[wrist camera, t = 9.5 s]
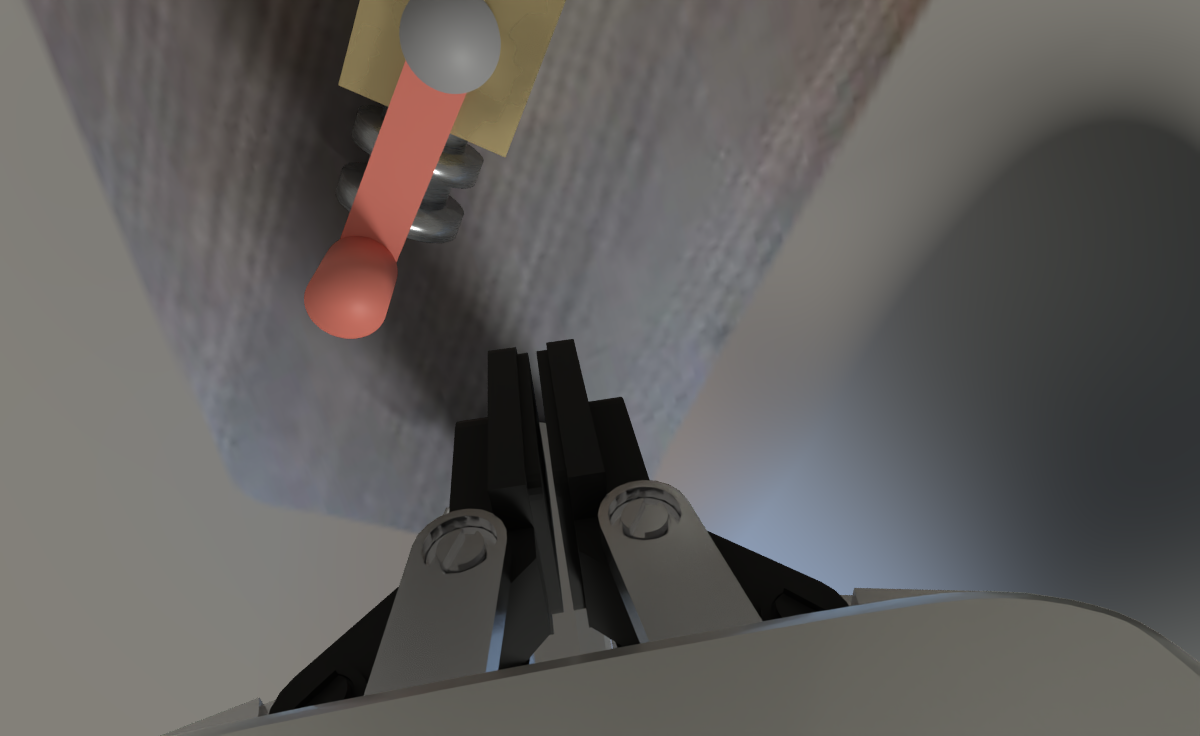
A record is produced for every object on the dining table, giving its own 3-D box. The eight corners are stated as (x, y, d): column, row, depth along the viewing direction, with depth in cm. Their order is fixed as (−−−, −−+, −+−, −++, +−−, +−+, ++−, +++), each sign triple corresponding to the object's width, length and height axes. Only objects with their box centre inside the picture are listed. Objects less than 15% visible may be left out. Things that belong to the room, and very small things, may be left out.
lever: (425, -38, 23) (411, -42, 19) (515, 15, 25) (520, 23, 20) (315, 268, 29) (286, 318, 24) (394, 299, 30) (379, 351, 26)
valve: (450, -244, 26) (438, -310, 20) (603, -146, 28) (634, -179, 22) (338, 169, 33) (306, 211, 27) (467, 219, 36) (463, 267, 30)
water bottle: (575, 404, 43) (657, 807, 22) (577, 490, 47) (648, 899, 26) (437, 416, 42) (387, 853, 21) (452, 503, 46) (422, 942, 25)
